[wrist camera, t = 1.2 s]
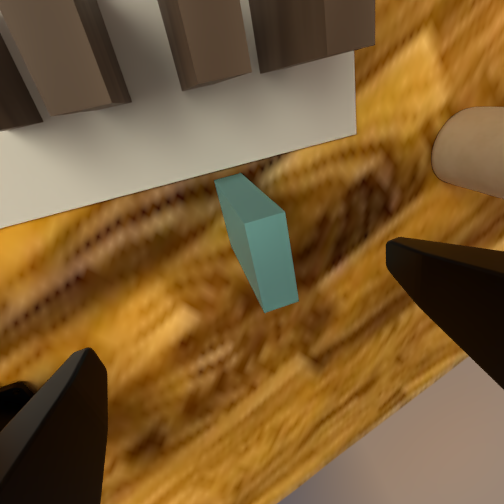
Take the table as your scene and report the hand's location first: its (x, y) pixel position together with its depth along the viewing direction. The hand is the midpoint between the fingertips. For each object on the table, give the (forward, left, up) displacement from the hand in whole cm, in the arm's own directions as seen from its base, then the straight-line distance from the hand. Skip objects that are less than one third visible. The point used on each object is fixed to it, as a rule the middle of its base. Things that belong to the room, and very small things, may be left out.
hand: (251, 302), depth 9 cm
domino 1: (-2, -2, -12) cm, 13 cm away
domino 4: (+8, -1, -12) cm, 15 cm away
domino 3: (+8, +3, -12) cm, 15 cm away
